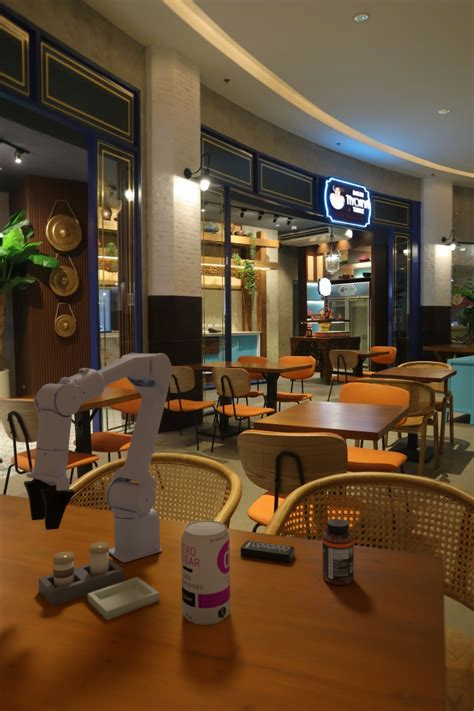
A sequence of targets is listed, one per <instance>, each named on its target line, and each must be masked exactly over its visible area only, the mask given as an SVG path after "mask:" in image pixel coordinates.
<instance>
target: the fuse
mask: <svg viewBox="0 0 474 711" xmlns="http://www.w3.org/2000/svg"><path fill="white" fill-rule="evenodd" d="M109 549H110V544H109V543H108V542H105V541H99V542H94V543H91V544H90V545H89V546H88V552H89V563H90V575H91V576H97V575H100V574H103V573H106V572H109V559H110V553H109Z"/></svg>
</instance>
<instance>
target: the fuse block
mask: <svg viewBox="0 0 474 711" xmlns="http://www.w3.org/2000/svg"><path fill="white" fill-rule="evenodd" d="M124 581H125V569H124V568H123V567H121V566H120V565H118V563H116V562H115V561H113V559H110V558H109V572H106V573H103V574H100V575H97V576H91V575H90V562H88V563H86V564H84V565H83V564H82V565H78V566H76V567H75V566H74V583H71V584H68V585H64V586H61V587H58V588H55V587H54V576H53V573H52V574H49V575H48V574H47V575H45V576H41V577H38V592H39V593H40V595H42V597H43V598H44V599H45V600H46V602H47V603H49V604H50V605H51V607H54V606H57V605H60V604H63V603H66V602H69V601H73V600H75V599H78V598H79V599H80V598H81V597H85V596H88V593H91V592H94V591H97V590H100V589H103V588H106V587H109V586H112V585H115V584H118V583H121V582H124Z"/></svg>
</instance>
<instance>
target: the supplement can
mask: <svg viewBox="0 0 474 711" xmlns="http://www.w3.org/2000/svg"><path fill="white" fill-rule="evenodd" d="M180 542H181V543H180V550H181V553H180V554H181V561H180V562H181V613H182V615H183V616H184V617H185V618H186V619H187V620H188V621H189V622H190V623H192V624H195V625H201V626H208V625H210V626H211V625H215V624H218V623H220V622H222V621H223V620H224V619H226V617H227V616H229V614H230V612H231V574H230V572H231V569H230V568H231V565H230V564H231V563H230V559H231V558H230V555H231V554H230V549H231V548H230V533H229V531H228V530H227V525H226V524H224V523H223V522H221V521H218V520H217V521H216V520H212V519H211V520H210V519H209V520H208V519H207V520H197V521H193V522H190V523H188V524H186V525H185V526H184V530H183V532H182V534H181V538H180Z"/></svg>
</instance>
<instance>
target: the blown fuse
mask: <svg viewBox="0 0 474 711" xmlns="http://www.w3.org/2000/svg"><path fill="white" fill-rule="evenodd" d="M74 561H75V553H74V552H72V551H60V552H57V553H55V554H53V555H52V565H53V566H52V574H53V576H54V587H55V588H58V587H61V586H64V585H68V584H71V583H74V568H75V564H74V563H75V562H74Z"/></svg>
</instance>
